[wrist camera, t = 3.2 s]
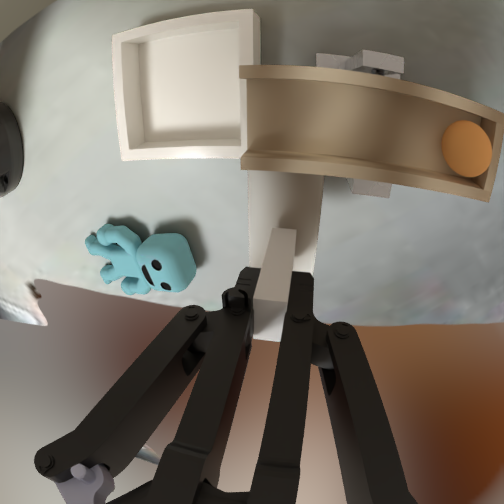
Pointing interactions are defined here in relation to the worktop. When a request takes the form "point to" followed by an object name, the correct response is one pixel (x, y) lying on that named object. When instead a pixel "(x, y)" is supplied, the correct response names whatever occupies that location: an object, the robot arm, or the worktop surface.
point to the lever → (345, 144)
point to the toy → (143, 259)
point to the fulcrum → (373, 65)
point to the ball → (466, 148)
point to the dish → (185, 85)
